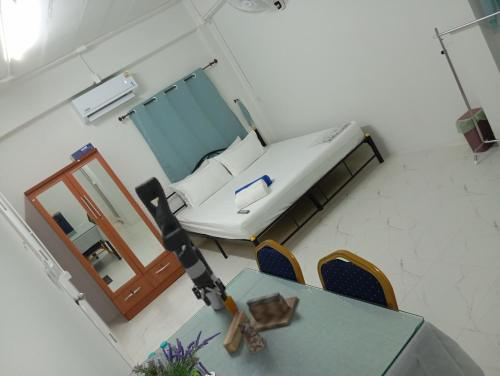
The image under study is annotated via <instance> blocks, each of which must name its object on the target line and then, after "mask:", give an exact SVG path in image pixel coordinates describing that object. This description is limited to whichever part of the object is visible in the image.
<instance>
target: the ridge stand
mask: <svg viewBox="0 0 500 376" xmlns="http://www.w3.org/2000/svg"><path fill="white" fill-rule="evenodd" d="M298 301H299V298H298V296H297V295H295V296H291V297H287V298H286V297H284V296H283V295H281V293H280V292H279V291H277V292H274V293H271V294H266V295H263V296H258V297H254V298H251V299H246V302H245V304H246V306H247V307H248V309H247V310H248V311H249V313H250V314H251V316H252V319H251V320H250V323H249V324H250V325H251V326H252V327H253V328H255V329H256V331H257V332H261V331H264V330H270V329H274V327H275V328H279V327H285V326H288V325H290V322H291V319H292V316H293V314H294V311H295V308H296V306H297V302H298Z"/></svg>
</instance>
